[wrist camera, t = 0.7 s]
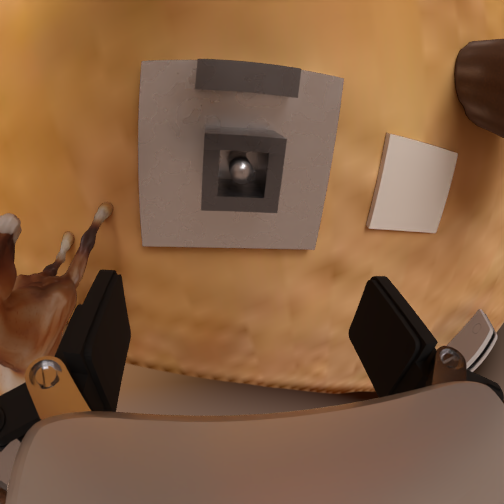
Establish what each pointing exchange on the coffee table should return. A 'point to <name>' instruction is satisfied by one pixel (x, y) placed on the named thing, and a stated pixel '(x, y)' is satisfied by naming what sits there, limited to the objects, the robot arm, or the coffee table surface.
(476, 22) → the coffee table surface
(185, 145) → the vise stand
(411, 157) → the pad
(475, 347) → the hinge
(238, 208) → the collar
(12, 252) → the horse figurine
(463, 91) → the plant pot
